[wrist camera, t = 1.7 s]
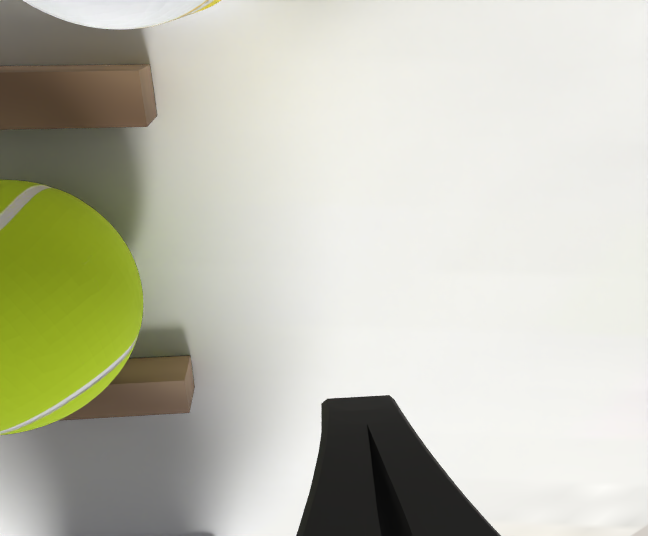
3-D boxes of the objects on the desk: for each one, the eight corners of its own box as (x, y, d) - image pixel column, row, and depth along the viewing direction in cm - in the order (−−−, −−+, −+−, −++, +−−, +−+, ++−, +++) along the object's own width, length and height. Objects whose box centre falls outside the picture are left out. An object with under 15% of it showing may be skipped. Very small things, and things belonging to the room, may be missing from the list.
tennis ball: (199, 292, 20) (164, 430, 13) (35, 365, 20) (-69, 528, 14) (82, 113, 16) (-34, 185, 10) (-105, 208, 17) (-318, 328, 11)
